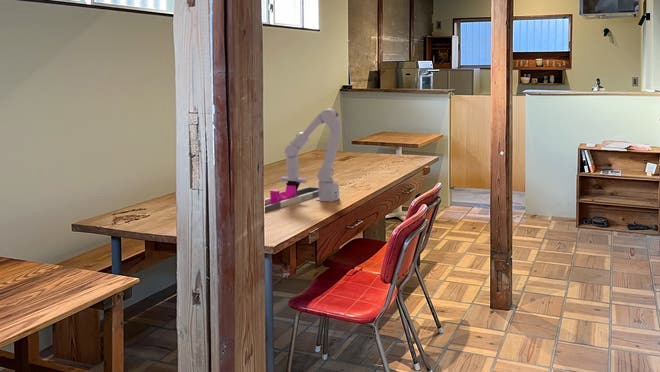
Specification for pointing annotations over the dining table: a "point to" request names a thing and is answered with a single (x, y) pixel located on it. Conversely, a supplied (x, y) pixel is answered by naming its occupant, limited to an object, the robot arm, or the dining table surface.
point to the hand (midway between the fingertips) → (293, 196)
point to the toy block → (283, 194)
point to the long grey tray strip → (301, 196)
